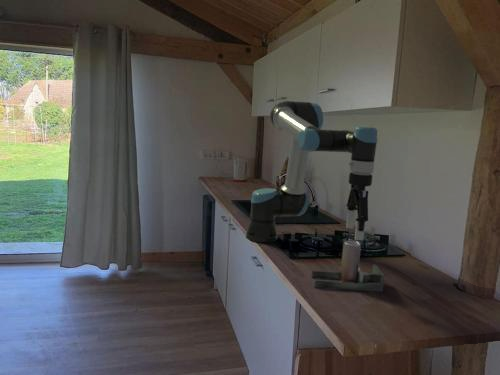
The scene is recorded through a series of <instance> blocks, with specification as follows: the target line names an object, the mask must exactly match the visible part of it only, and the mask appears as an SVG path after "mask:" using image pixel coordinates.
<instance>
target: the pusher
mask: <svg viewBox="0 0 500 375" xmlns="http://www.w3.org/2000/svg"><path fill="white" fill-rule="evenodd" d="M367 273H368V272H365V271H362V270H361V268H359V269H358V278H357V282H365V283H369V281H368V277H369V275H368V274H367Z"/></svg>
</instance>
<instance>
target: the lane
mask: <svg viewBox="0 0 500 375" xmlns="http://www.w3.org/2000/svg"><path fill="white" fill-rule="evenodd" d="M340 272H341V271H336V270H335V271H334V270H320V269H319V270H317V269H311V271H310V277H311V279H312V278H313V279H314V283H313V284H314V285H313V287H314V288H316V289H333V290H345V291H346V290H348V291H349V290H350V291H362V292H375V293H376V292H379V293H383V291H384V283H385V276H386V275H385V274H384V273H383V272H382V270H381V269H380V268H379V266H378V265H377V264H372V270H371V273H370V272H369V273H368V272H367V274H368V275H369V277H368V283H365V282H349V281H340Z"/></svg>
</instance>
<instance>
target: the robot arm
mask: <svg viewBox="0 0 500 375" xmlns="http://www.w3.org/2000/svg"><path fill="white" fill-rule="evenodd" d="M269 118H270V121H271V123H272V125H273V126H274V127H275V128H277V129H278V130H282V131H285V132H286V133H288V134H289V135H290V136H291V142H290V148H289V156H288V162H287V167H286V168H287V169H286V176H285V180H284V184H283V185H281V187H280V191H278V190H277V189H276V188H271V187H270V188H269V187H267V188H266V187H265V188H260V189H256V190H254V191H253V192H252V194H251V199H250V204H251V205H250V220H249V224H248V227H247V229H246V232H245V238H246V239H247V240H249V241H251V242H255V243H264V244H266V243H274V242H276V241H277V240H278V230H277V226H276V217H301V216H303V215H304V214H305V213H306V212H307V210H308V206H309V197H308V194H307V193H306V189H305V188H304V182H305V177H306V171H307V165H308V159H309V153H310V152H331V153H332V152H333V153H335V152H336V153H347V154H348V153H349V154H351V155H350V156H351V157H350V162H348V165H349V166H350V169H349V171H350V173H349V176H348V184H349V185H350V191H349V194H348V199H347V203H346V207H347V214H346V223H345V224H346V226H345V229H355V232H354V240H355V241H364V237H365V231H366V222H369V201H368V200H369V197H368V196H369V190H366V187H371V186H372V184H373V173H374V167H375V159H376V152H377V151H376V150H377V143H378V128H377V127H372V126H371V127H370V126H356V127H354V131H351V130H347V129H346V130H345V129H342V130H337V129H335V130H333V129H322V126H323V124H324V114H323V109H322V107H321V106H320V105H319V104H318V103H314V102H308V101H292V100H291V101H290V100H285V101H281V102H278V103H277V104H275V105H274V106H273V107H272V109H271V111H270V114H269ZM356 213H357V214H356ZM356 215H357V218H356Z"/></svg>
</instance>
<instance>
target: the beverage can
mask: <svg viewBox="0 0 500 375" xmlns="http://www.w3.org/2000/svg"><path fill="white" fill-rule="evenodd" d="M361 250H362V247H361V243H360V242H359V241H356V240H355V241H354V240H345V241H344V242H343V244H342V254H341V264H340V271H339V272H340V279H339V281H349V282H357V278H358V269H360V259H361Z"/></svg>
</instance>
